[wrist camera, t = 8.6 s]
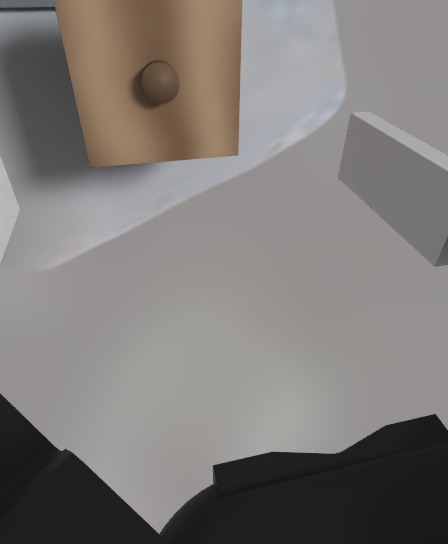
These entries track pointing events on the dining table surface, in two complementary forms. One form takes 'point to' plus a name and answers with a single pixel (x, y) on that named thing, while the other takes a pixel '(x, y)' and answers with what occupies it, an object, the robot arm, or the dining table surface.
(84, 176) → the dining table surface
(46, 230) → the dining table surface
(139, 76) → the lid
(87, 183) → the dining table surface
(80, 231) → the dining table surface
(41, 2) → the mat
